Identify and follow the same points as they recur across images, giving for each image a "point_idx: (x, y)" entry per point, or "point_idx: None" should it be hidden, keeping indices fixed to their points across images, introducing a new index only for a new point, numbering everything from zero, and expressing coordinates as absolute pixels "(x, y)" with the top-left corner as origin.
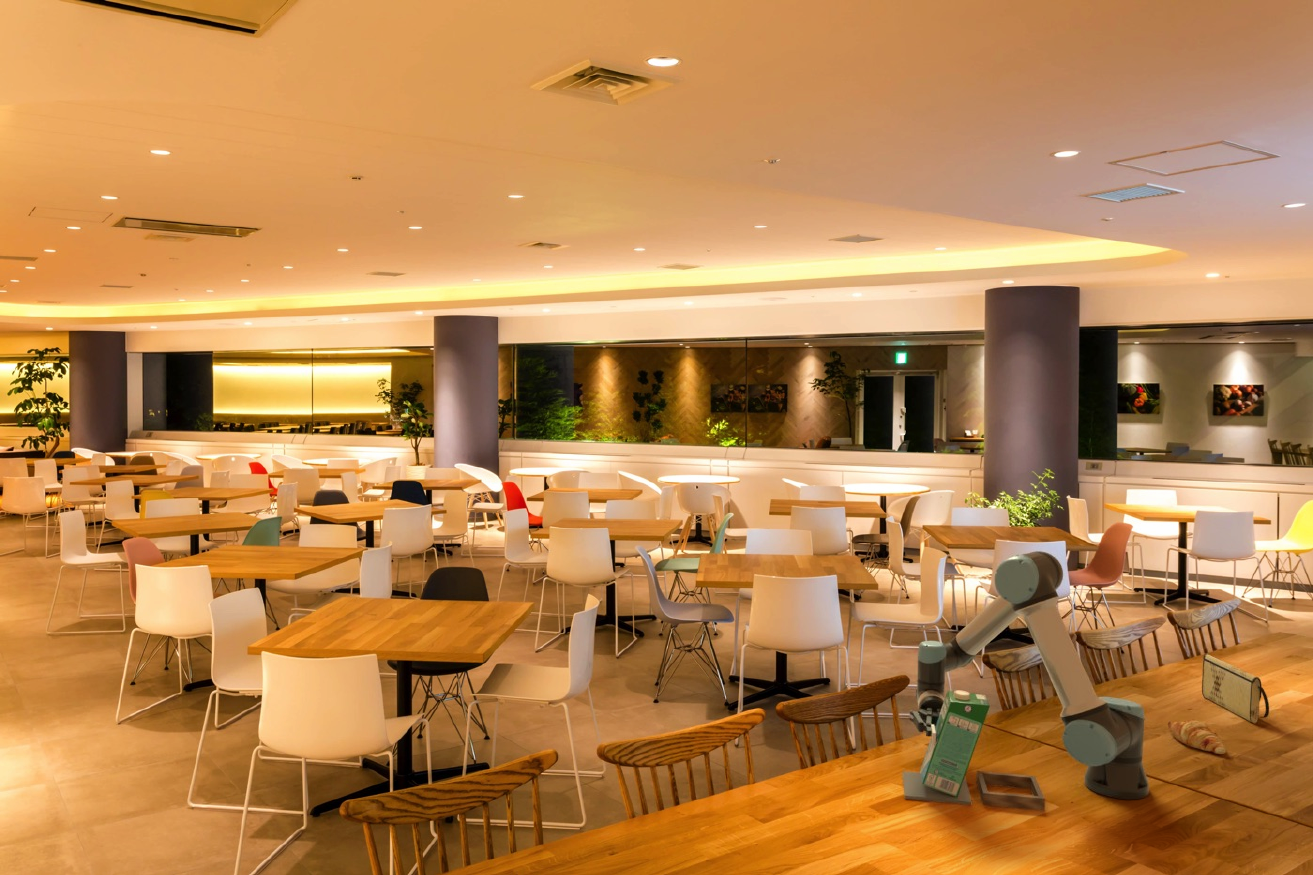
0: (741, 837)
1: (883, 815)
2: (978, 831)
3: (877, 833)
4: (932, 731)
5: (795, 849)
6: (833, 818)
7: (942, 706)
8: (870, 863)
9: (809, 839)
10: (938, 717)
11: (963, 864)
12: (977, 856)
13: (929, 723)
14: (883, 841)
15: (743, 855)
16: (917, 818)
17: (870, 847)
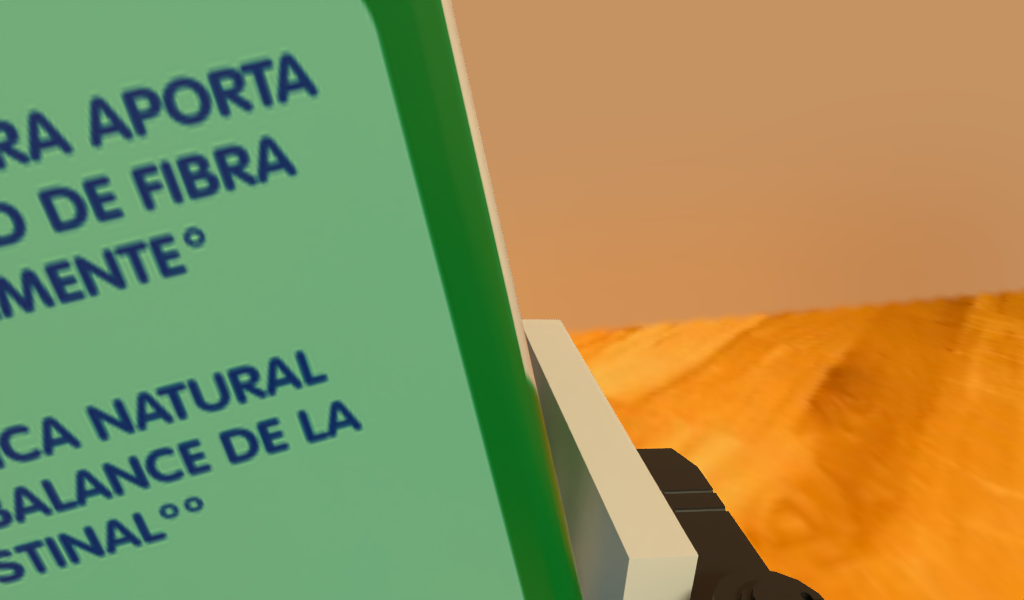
0: (1016, 364)
1: None
2: None
3: (669, 436)
4: (574, 344)
5: (840, 346)
6: (894, 489)
7: (476, 140)
8: (619, 330)
9: (849, 380)
10: (572, 554)
11: None
12: None
13: (754, 591)
14: (626, 403)
15: (924, 319)
16: None
17: (652, 376)
